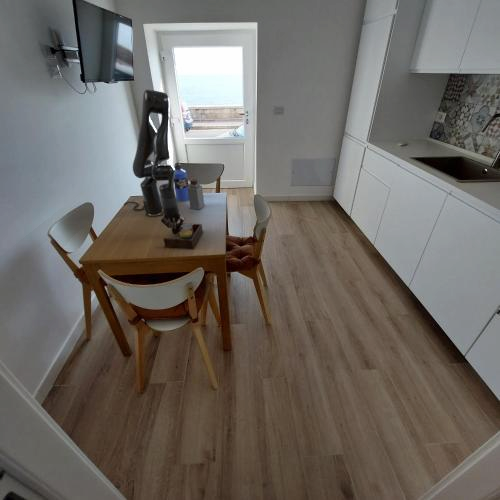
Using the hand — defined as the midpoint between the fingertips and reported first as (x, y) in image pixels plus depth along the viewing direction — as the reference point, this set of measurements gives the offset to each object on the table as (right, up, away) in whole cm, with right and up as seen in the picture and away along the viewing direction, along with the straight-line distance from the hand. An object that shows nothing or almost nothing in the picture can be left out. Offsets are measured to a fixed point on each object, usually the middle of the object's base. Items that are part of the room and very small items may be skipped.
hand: (175, 233), depth 148 cm
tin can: (+6, -1, +1) cm, 6 cm away
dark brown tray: (+6, -3, -3) cm, 7 cm away
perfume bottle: (+6, +20, +31) cm, 37 cm away
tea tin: (+8, -5, -6) cm, 12 cm away
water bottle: (-6, +27, +43) cm, 51 cm away
